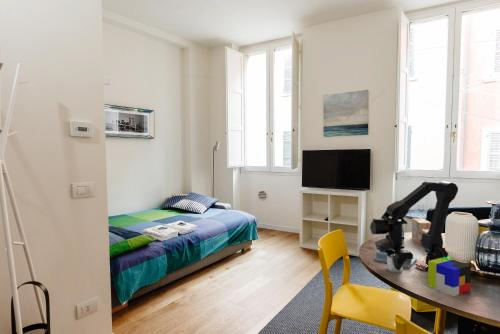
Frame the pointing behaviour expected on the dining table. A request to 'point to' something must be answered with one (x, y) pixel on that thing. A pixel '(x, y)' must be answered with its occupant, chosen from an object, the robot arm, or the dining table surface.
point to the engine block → (392, 264)
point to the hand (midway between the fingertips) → (394, 267)
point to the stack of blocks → (419, 228)
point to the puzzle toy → (449, 276)
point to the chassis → (383, 258)
